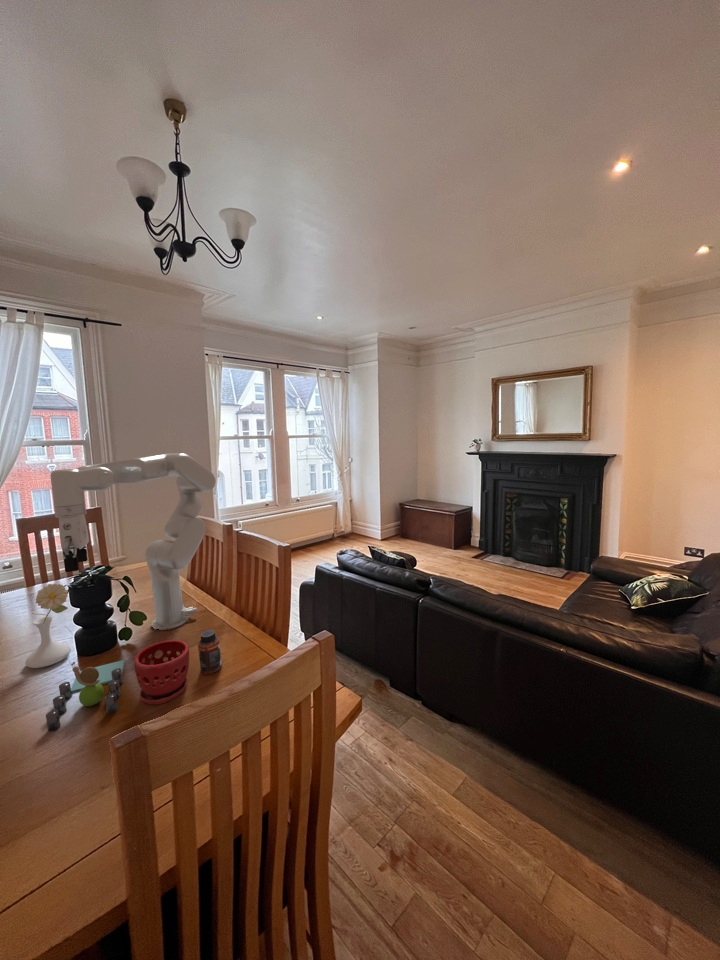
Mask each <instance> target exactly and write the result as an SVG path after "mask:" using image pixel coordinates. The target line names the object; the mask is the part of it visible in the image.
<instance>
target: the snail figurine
mask: <svg viewBox="0 0 720 960" xmlns="http://www.w3.org/2000/svg"><path fill="white" fill-rule="evenodd" d="M75 664H76V661H73V662H72V663H71V664H70V666H72V672H73V674H74V677H75V678H76V679H77V681H78V682H79V683H80V684H82V685H85V687H84V688H83V689H82V690H81V691H79V696H78V701H79V703H80V704H81V705H83V706H85V707H91V706H95V705H96V704H99V702H101V700H102V699H103V697H104V693H105V688H104V686H103V685H101V684H99V681H100V680H97V679H98V677H99V672H98V670H97V669H96V668H94V666H86V667H84V668H83V669H82V670H81V671H82V672H81V674H80V672H79V671H80V670H79V669H80V667H79V666H77V665H75Z"/></svg>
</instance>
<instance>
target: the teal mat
mask: <svg viewBox="0 0 720 960" xmlns="http://www.w3.org/2000/svg"><path fill="white" fill-rule="evenodd" d="M125 663H126V662H125V659H123V660H118V661H114V662H109V663H107V664H102V665H99V666H95V667H94V666H93V667H94V668H96V669H97V670H98V672H99V677H98V679H97V680H100V681H99V684H101V685H102V686H103V685H107V684H109V683H110V682H112V674H111V672H112V671H113V670H115V669H118V668H120V669H121V671H122V673H123V671H124V667H125ZM79 672H80V674H81V672H82V670H79ZM84 687H85V685H82V684H80V683H79V682H78V681H77V679H76V677H75V679H74V680H73V683H72V686H71V693H72V694H73V693H76V692H77V693H78V692H81V690H82V689H83V688H84Z"/></svg>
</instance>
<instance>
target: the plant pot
mask: <svg viewBox="0 0 720 960" xmlns="http://www.w3.org/2000/svg"><path fill="white" fill-rule="evenodd" d="M159 651H160V652H162V655H161V656H159V657H156V656H155V655H156V653H157V652H159ZM168 652H170V653H168ZM177 652H178V653H179V654H178V653H177ZM165 658H167V659H166V661H165V660H164V659H165ZM172 658H173V659H172ZM143 660H144V661H143ZM151 662H152V664H150V663H151ZM189 665H190V649H189V645H188V644H187V643H186V642H185V641H182V640H179V639H178V640H176V639H172V640H171V639H170V640H168V639H167V640H163V641H158V642H156V643H152V644H150V645H147V647H144V648H143V649H141V650H140V651H139V652H138V653H137V654H136V655H135V657H134V671H135V673H134V674H135V677H136V678H135V679H136V681H137V684H138V686H139V687H140V691H139V698H140V699H141V701H143V702H144V703H146V704H149V705H160V704H164V703H165V704H166V703H168V702H170V701H171V700H174V699H176V698H177V697H178V696H180V695H181V694H182V693H183V692H184V691H185V690H186V688H187V686H188V678H187V675H188V671H189Z"/></svg>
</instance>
